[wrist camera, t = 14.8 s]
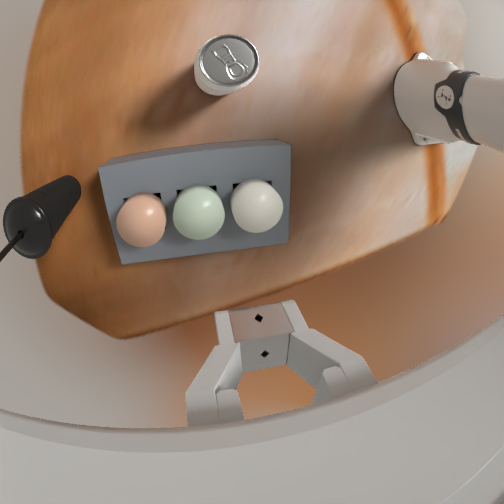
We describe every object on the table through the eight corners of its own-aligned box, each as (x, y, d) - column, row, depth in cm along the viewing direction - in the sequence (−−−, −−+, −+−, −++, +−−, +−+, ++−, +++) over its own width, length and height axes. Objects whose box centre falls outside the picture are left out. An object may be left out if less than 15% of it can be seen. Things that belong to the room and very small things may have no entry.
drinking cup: (48, 209, 34) (-19, 282, 17) (50, 163, 30) (-31, 217, 14) (87, 217, 36) (31, 299, 19) (92, 170, 33) (21, 230, 16)
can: (213, 104, 32) (221, 103, 22) (184, 71, 29) (180, 55, 19) (251, 78, 31) (276, 67, 21) (223, 44, 28) (237, 19, 18)
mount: (277, 139, 37) (290, 145, 32) (276, 225, 44) (288, 243, 39) (111, 158, 33) (98, 168, 28) (129, 244, 40) (122, 264, 35)
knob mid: (216, 171, 37) (222, 188, 30) (219, 210, 40) (226, 236, 33) (174, 176, 36) (169, 195, 29) (179, 215, 39) (177, 242, 32)
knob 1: (167, 177, 36) (160, 196, 28) (173, 216, 39) (169, 243, 32) (127, 183, 35) (111, 204, 27) (134, 221, 38) (122, 250, 31)
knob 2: (265, 167, 38) (283, 183, 31) (265, 205, 41) (282, 229, 34) (223, 170, 37) (231, 188, 30) (226, 209, 40) (234, 235, 33)
